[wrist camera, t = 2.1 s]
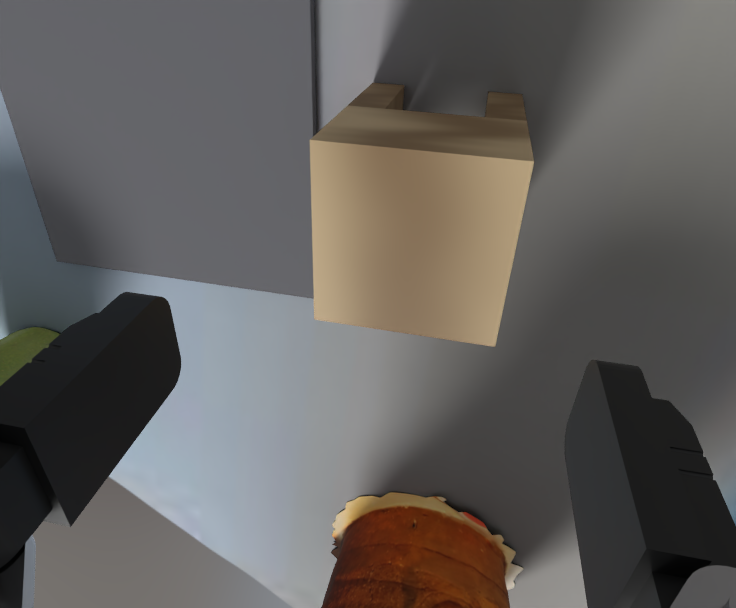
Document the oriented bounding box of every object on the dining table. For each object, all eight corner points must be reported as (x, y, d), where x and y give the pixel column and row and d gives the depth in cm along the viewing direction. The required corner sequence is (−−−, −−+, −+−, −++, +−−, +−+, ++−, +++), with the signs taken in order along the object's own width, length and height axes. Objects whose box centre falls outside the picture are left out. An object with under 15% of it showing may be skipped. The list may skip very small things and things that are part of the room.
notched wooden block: (522, 94, 19) (534, 161, 12) (496, 232, 22) (495, 347, 15) (373, 82, 20) (309, 139, 13) (368, 217, 23) (314, 319, 16)
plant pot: (-21, 275, 30) (-186, 373, 23) (133, 339, 30) (18, 456, 23) (-8, 386, 35) (-138, 493, 28) (123, 439, 35) (27, 560, 28)
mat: (313, -56, 18) (308, -57, 17) (319, 293, 25) (316, 298, 25) (-40, -69, 20) (-52, -70, 20) (63, 256, 28) (57, 261, 27)
